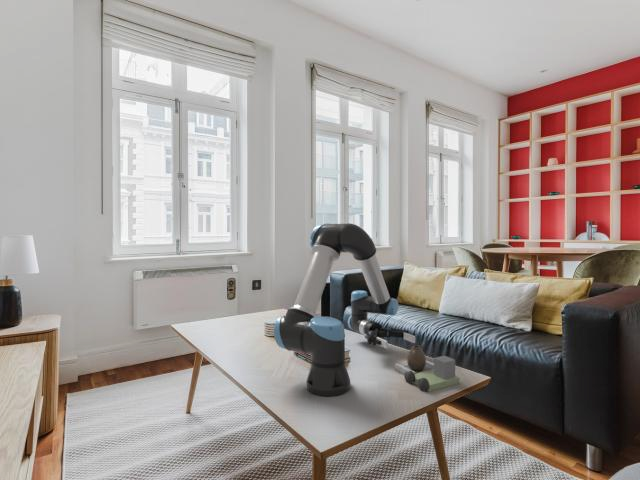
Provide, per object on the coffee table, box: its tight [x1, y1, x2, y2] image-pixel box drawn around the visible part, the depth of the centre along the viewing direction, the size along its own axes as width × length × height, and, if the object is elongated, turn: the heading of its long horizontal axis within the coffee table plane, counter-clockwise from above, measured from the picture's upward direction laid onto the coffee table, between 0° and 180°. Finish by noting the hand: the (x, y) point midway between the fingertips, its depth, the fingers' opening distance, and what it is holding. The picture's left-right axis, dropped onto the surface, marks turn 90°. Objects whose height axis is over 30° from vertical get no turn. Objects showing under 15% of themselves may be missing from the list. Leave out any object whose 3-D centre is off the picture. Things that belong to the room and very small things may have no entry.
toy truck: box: [403, 355, 461, 392], centre depth 135 cm, size 11×16×8 cm
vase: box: [406, 344, 427, 371], centre depth 145 cm, size 7×7×9 cm
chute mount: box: [394, 359, 434, 376], centre depth 145 cm, size 10×13×2 cm
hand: (401, 342), depth 153 cm, fingers open, 13 cm apart
